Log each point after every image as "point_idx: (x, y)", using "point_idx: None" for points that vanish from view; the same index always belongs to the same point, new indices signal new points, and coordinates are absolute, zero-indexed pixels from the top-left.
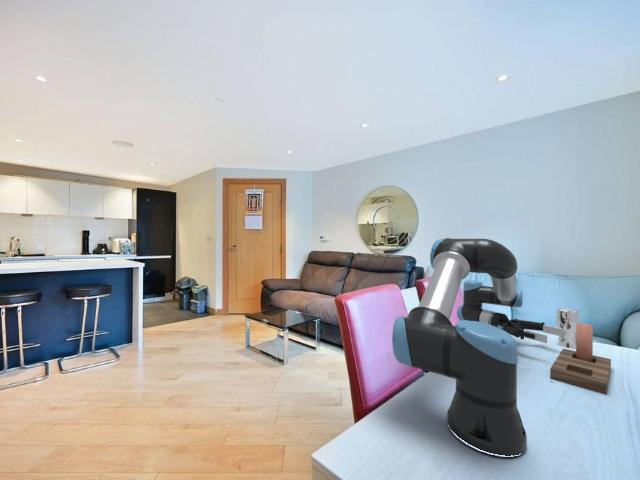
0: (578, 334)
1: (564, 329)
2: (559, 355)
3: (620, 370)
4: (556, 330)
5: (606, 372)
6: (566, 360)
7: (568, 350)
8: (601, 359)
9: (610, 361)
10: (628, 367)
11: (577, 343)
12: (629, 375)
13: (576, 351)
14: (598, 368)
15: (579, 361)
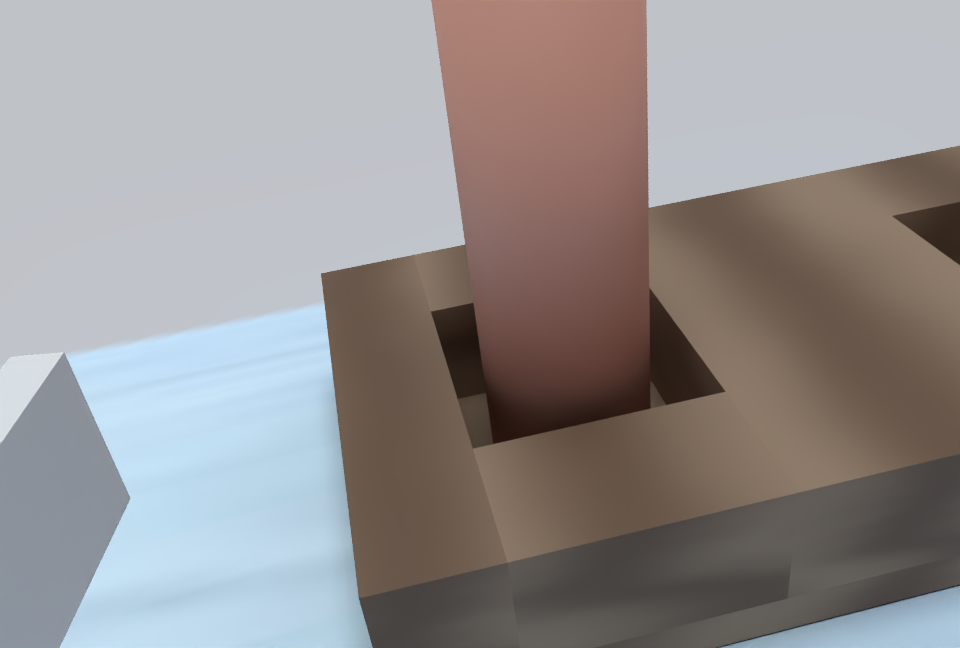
0: (638, 17)
1: (25, 357)
2: (836, 474)
3: (236, 370)
4: (12, 528)
5: (808, 181)
6: (935, 369)
7: (400, 523)
8: (424, 290)
9: (412, 255)
10: (76, 374)
11: (636, 181)
12: (321, 319)
13: (623, 314)
14: (777, 219)
15: (769, 321)
